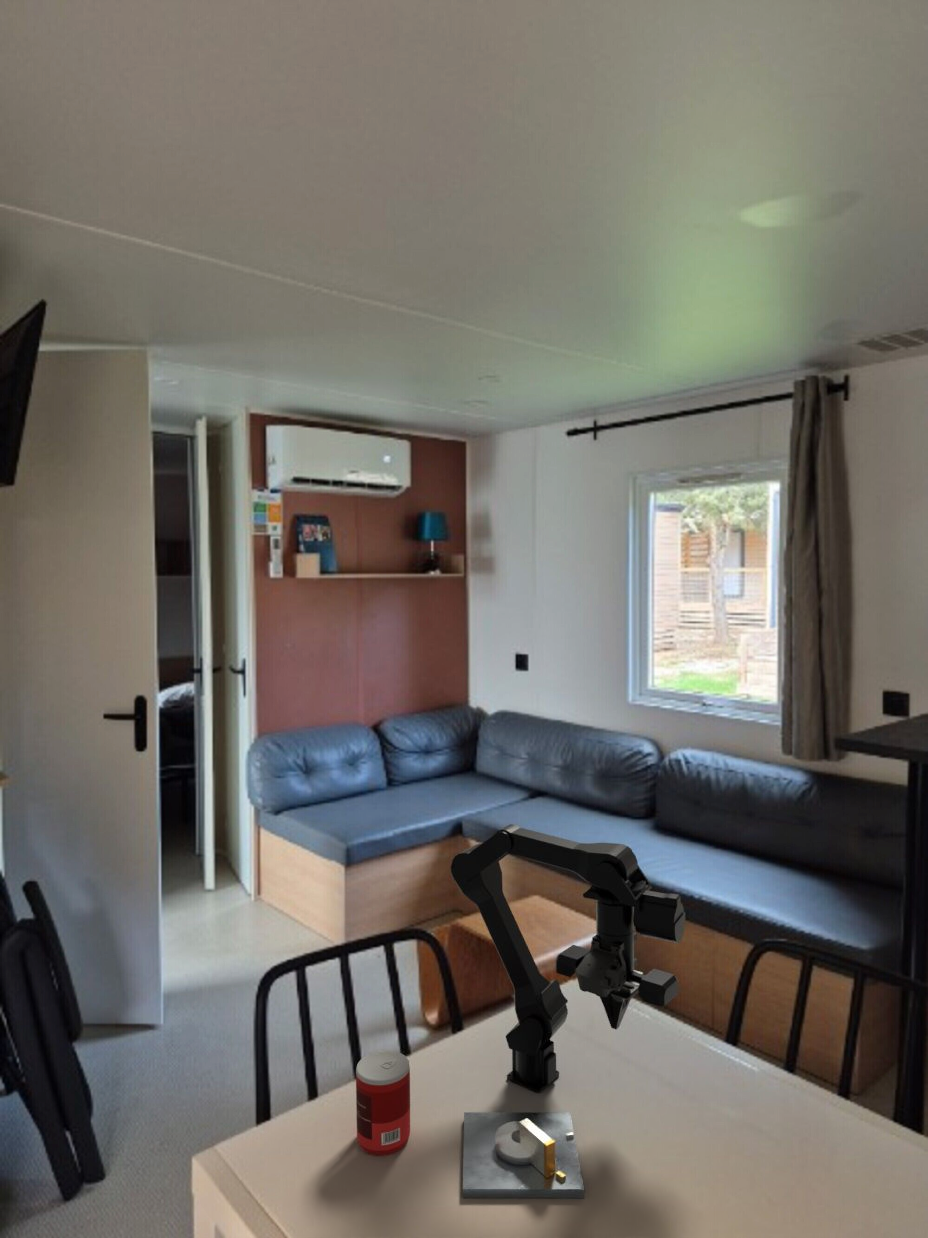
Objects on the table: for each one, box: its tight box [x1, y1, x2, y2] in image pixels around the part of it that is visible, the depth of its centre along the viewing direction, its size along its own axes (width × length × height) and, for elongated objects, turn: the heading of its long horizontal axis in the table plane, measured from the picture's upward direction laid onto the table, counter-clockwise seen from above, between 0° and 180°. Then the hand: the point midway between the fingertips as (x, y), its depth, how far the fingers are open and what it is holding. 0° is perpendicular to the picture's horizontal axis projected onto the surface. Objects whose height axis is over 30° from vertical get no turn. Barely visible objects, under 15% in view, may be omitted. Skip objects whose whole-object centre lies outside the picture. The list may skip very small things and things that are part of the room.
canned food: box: [355, 1050, 411, 1156], centre depth 120 cm, size 8×8×11 cm
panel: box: [462, 1111, 585, 1199], centre depth 116 cm, size 16×16×2 cm
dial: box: [495, 1118, 555, 1178], centre depth 114 cm, size 10×7×4 cm
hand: (615, 1028), depth 127 cm, fingers closed
